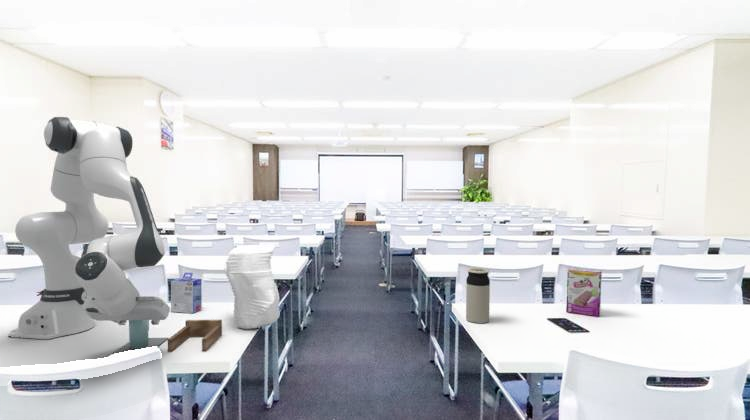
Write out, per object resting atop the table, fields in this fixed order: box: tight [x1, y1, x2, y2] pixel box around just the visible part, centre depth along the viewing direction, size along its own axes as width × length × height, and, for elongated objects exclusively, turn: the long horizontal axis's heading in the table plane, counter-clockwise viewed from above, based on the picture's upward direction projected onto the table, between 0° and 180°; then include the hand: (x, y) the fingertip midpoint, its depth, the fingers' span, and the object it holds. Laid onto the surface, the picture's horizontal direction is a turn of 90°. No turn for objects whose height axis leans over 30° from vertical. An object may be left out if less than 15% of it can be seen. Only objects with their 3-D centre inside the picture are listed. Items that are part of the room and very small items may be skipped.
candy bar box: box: [565, 267, 603, 318], centre depth 151 cm, size 11×5×16 cm, turn 58°
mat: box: [110, 337, 169, 354], centre depth 117 cm, size 10×14×1 cm
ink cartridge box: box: [170, 271, 203, 314], centre depth 154 cm, size 10×6×14 cm, turn 78°
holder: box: [167, 319, 223, 353], centre depth 121 cm, size 11×13×5 cm
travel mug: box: [465, 267, 491, 324], centre depth 143 cm, size 8×8×18 cm
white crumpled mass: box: [223, 243, 281, 330], centre depth 140 cm, size 21×27×26 cm
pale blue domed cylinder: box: [128, 320, 150, 350], centre depth 118 cm, size 5×7×10 cm
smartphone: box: [546, 317, 591, 334], centre depth 138 cm, size 8×1×15 cm
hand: (140, 322), depth 117 cm, fingers open, 8 cm apart
